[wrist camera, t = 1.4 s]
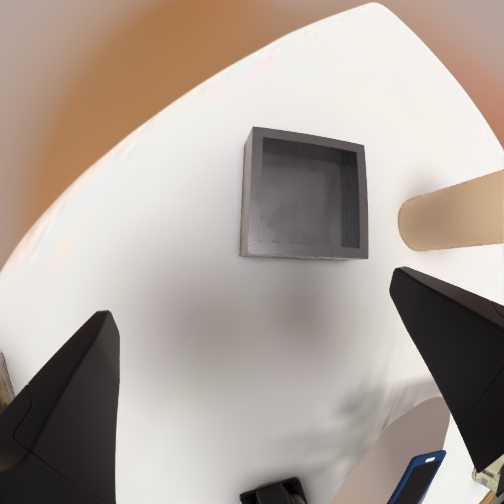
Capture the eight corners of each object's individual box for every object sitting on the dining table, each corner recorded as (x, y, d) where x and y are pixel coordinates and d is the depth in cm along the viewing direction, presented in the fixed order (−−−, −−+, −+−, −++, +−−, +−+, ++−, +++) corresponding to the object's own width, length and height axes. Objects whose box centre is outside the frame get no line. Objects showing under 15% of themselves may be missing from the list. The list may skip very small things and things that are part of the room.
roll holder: (345, 260, 27) (368, 258, 23) (239, 255, 25) (247, 253, 21) (343, 160, 27) (363, 145, 23) (244, 146, 25) (252, 126, 22)
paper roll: (439, 243, 29) (543, 231, 15) (405, 257, 28) (520, 249, 14) (426, 195, 29) (527, 163, 15) (391, 204, 28) (502, 168, 14)
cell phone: (445, 448, 29) (448, 450, 28) (406, 515, 28) (409, 517, 27) (412, 455, 28) (415, 458, 27) (372, 525, 26) (374, 527, 26)
